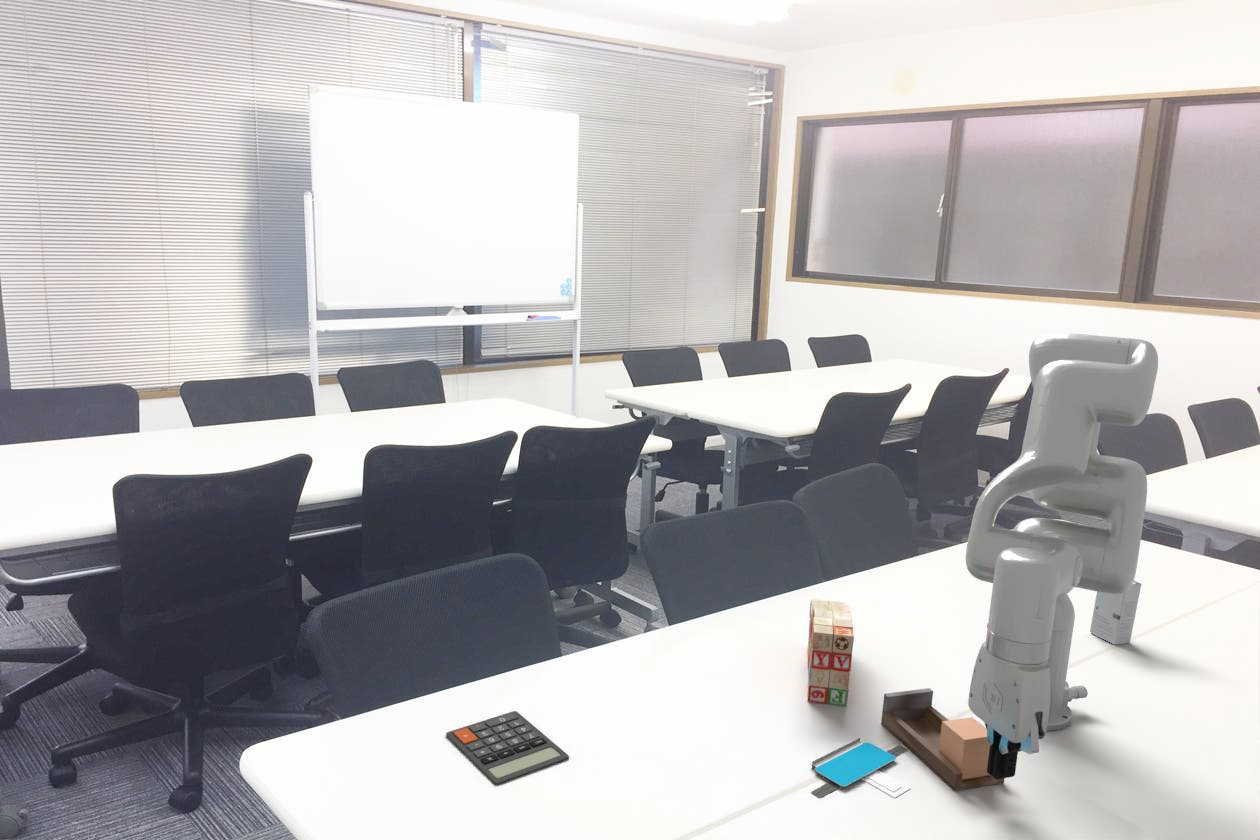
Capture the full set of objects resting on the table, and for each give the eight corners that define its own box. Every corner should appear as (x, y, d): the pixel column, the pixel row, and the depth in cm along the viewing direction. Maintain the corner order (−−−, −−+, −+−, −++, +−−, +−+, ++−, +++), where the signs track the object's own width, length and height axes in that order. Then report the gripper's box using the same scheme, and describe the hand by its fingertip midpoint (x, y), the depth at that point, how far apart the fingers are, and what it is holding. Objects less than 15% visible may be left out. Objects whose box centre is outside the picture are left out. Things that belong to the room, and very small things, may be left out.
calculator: (515, 709, 141) (570, 755, 130) (515, 714, 141) (569, 761, 130) (445, 731, 134) (496, 782, 123) (445, 737, 134) (496, 788, 123)
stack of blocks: (806, 646, 169) (812, 582, 166) (842, 650, 168) (847, 586, 165) (807, 703, 148) (813, 630, 146) (847, 708, 147) (854, 635, 145)
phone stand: (856, 825, 118) (857, 813, 118) (784, 781, 127) (785, 770, 127) (943, 772, 131) (945, 762, 131) (873, 736, 140) (874, 726, 140)
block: (967, 755, 133) (972, 717, 132) (990, 775, 128) (995, 735, 127) (937, 760, 131) (942, 721, 130) (959, 780, 127) (964, 740, 126)
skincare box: (1088, 633, 179) (1097, 573, 177) (1105, 630, 181) (1114, 571, 179) (1115, 646, 174) (1125, 585, 171) (1133, 643, 176) (1142, 582, 173)
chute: (926, 717, 145) (929, 688, 144) (1003, 782, 128) (1008, 749, 127) (881, 723, 142) (884, 693, 141) (954, 791, 125) (958, 757, 125)
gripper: (955, 624, 125) (941, 748, 128) (1034, 674, 111) (1015, 812, 114) (1002, 619, 127) (987, 741, 131) (1085, 668, 113) (1065, 803, 117)
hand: (1000, 774), depth 123 cm, fingers closed
